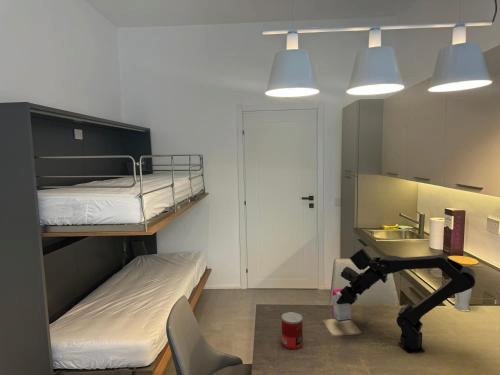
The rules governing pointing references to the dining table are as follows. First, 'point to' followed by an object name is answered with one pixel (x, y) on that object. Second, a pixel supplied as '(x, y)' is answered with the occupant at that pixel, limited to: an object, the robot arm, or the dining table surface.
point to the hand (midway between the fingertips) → (340, 299)
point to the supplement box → (340, 307)
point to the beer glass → (462, 300)
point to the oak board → (341, 327)
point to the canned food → (292, 330)
